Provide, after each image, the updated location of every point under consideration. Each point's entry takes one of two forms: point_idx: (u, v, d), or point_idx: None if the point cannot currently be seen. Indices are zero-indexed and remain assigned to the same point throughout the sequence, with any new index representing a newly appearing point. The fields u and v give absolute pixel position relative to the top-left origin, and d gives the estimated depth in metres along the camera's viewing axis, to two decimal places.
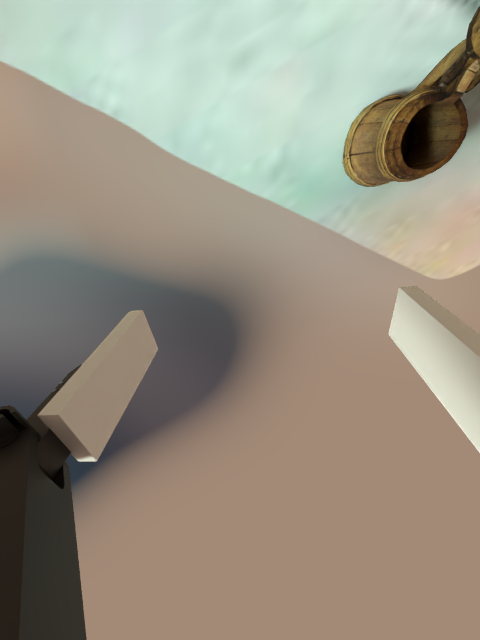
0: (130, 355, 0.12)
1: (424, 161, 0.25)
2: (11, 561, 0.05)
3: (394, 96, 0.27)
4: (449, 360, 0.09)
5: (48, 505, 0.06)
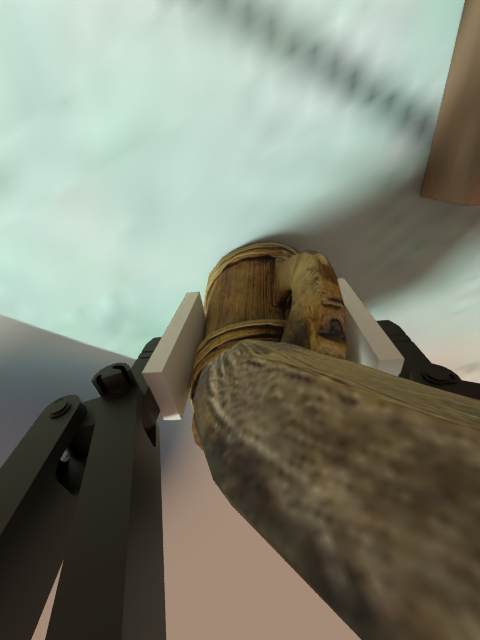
0: (194, 331, 0.13)
1: None
2: (121, 506, 0.05)
3: (259, 254, 0.15)
4: (350, 337, 0.10)
5: (146, 461, 0.07)
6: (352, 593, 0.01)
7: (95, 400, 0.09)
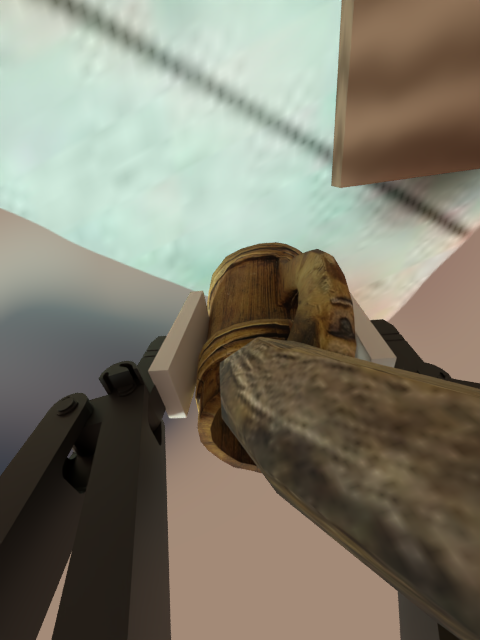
0: (198, 330, 0.13)
1: None
2: (127, 503, 0.05)
3: (263, 254, 0.15)
4: None
5: (152, 459, 0.07)
6: (431, 568, 0.01)
7: (101, 398, 0.09)
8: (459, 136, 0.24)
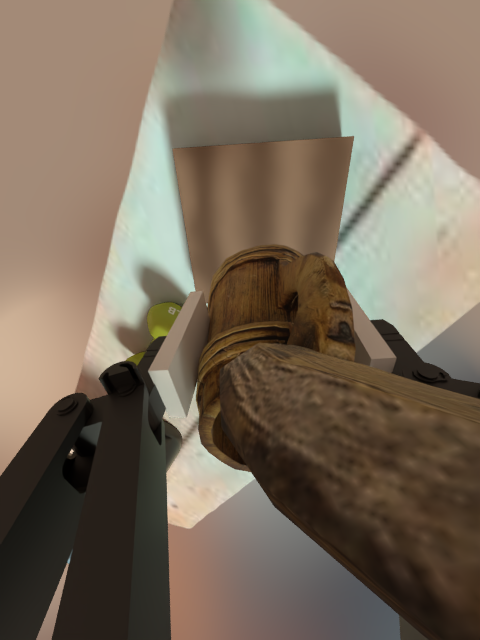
0: (198, 330, 0.13)
1: None
2: (128, 503, 0.05)
3: (263, 255, 0.15)
4: None
5: (152, 459, 0.07)
6: (418, 587, 0.01)
7: (101, 398, 0.09)
8: (313, 215, 0.27)
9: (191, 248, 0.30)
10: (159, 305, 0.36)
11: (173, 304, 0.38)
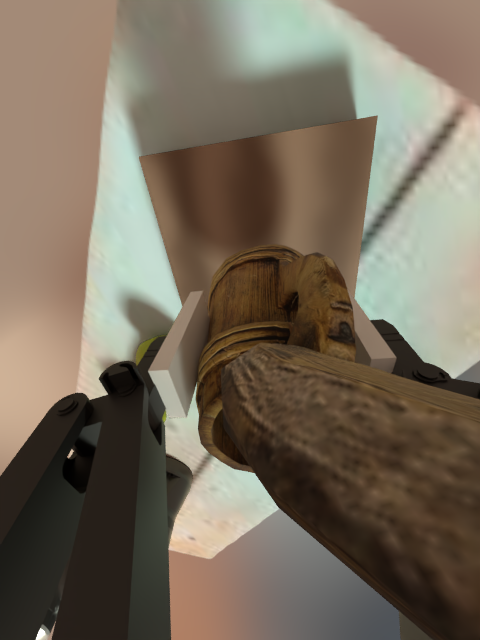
0: (198, 330, 0.13)
1: None
2: (128, 503, 0.05)
3: (263, 255, 0.15)
4: None
5: (152, 459, 0.07)
6: (426, 589, 0.01)
7: (102, 398, 0.09)
8: (327, 224, 0.21)
9: (177, 276, 0.25)
10: (149, 342, 0.31)
11: None
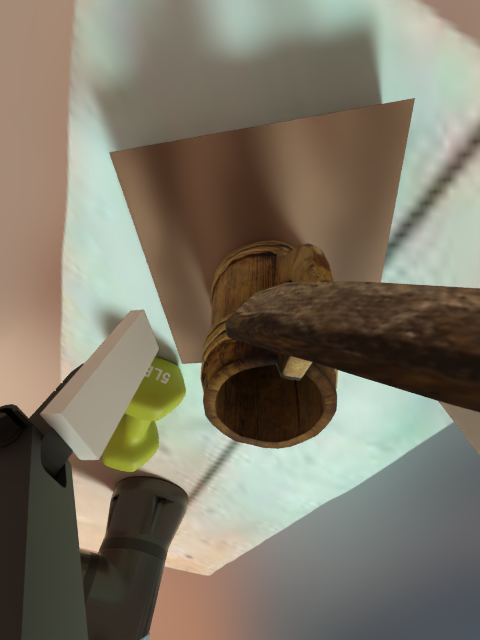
0: (131, 354, 0.12)
1: (301, 379, 0.15)
2: (14, 559, 0.05)
3: (262, 250, 0.16)
4: None
5: (50, 504, 0.06)
6: (309, 330, 0.02)
7: None
8: (344, 235, 0.17)
9: (162, 295, 0.21)
10: None
11: None
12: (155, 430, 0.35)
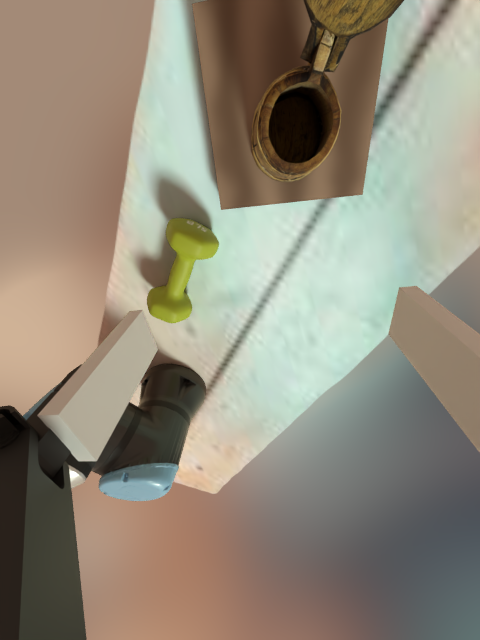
0: (130, 355, 0.12)
1: (316, 154, 0.22)
2: (11, 561, 0.05)
3: None
4: (449, 360, 0.09)
5: (48, 505, 0.06)
6: None
7: None
8: (348, 77, 0.25)
9: (214, 137, 0.28)
10: (177, 218, 0.35)
11: None
12: None
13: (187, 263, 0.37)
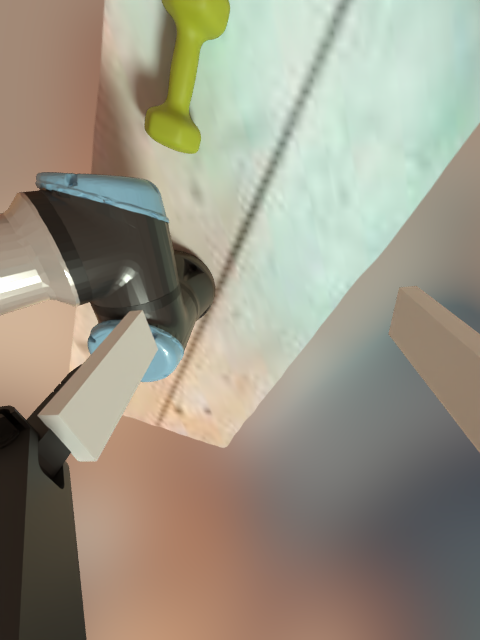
0: (130, 355, 0.12)
1: None
2: (11, 560, 0.05)
3: None
4: (449, 360, 0.09)
5: (48, 505, 0.06)
6: None
7: None
8: None
9: None
10: None
11: None
12: None
13: (191, 40, 0.28)
